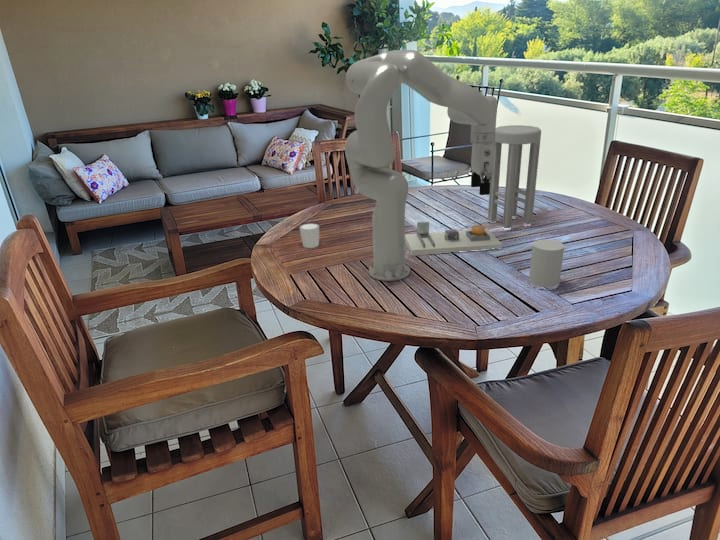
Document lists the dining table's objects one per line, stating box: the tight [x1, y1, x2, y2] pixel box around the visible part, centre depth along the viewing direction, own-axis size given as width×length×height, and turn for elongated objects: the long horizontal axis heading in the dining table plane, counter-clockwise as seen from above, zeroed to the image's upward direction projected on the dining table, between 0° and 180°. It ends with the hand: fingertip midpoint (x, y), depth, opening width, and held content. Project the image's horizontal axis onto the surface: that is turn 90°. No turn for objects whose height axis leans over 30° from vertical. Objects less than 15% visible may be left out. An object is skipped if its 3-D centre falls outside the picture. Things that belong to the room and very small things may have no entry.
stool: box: [487, 124, 542, 228], centre depth 186 cm, size 16×16×35 cm
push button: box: [470, 224, 486, 235], centre depth 176 cm, size 4×4×2 cm
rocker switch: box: [444, 229, 459, 237], centre depth 175 cm, size 6×3×2 cm, turn 5°
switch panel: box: [405, 228, 503, 257], centre depth 176 cm, size 15×30×4 cm, turn 95°
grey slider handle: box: [416, 221, 430, 238], centre depth 179 cm, size 3×4×5 cm
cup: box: [528, 239, 565, 287], centre depth 144 cm, size 8×8×12 cm
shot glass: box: [299, 223, 320, 249], centre depth 180 cm, size 7×7×7 cm
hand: (480, 190), depth 170 cm, fingers open, 9 cm apart
